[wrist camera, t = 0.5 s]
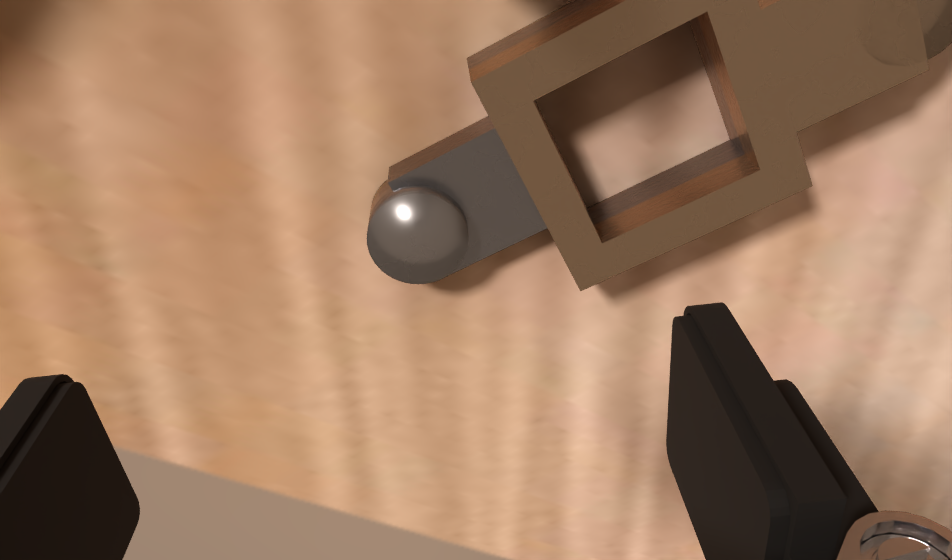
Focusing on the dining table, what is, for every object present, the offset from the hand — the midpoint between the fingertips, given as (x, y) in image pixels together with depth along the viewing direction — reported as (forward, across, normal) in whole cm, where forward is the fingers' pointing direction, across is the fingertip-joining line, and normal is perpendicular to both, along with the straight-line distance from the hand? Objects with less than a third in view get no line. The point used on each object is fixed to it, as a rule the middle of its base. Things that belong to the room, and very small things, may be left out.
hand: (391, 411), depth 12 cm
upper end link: (+26, -14, +3) cm, 30 cm away
